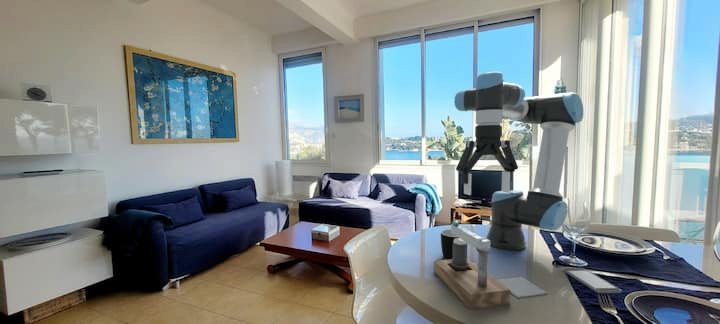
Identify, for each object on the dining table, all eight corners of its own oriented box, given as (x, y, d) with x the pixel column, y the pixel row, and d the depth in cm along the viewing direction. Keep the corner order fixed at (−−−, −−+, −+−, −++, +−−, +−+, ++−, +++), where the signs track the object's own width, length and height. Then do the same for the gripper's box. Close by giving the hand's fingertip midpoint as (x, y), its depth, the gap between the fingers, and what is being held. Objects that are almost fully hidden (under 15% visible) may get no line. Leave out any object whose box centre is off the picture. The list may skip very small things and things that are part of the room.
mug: (469, 263, 105) (469, 236, 104) (445, 264, 105) (445, 237, 104) (456, 251, 117) (457, 226, 116) (435, 251, 117) (435, 227, 116)
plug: (462, 274, 97) (463, 237, 96) (471, 281, 92) (472, 242, 91) (447, 275, 96) (448, 238, 95) (456, 283, 91) (456, 244, 90)
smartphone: (583, 268, 100) (622, 290, 85) (583, 271, 100) (622, 294, 85) (562, 268, 100) (598, 290, 85) (561, 271, 100) (597, 294, 85)
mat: (521, 278, 94) (521, 276, 94) (547, 294, 84) (547, 292, 84) (494, 281, 92) (494, 280, 92) (517, 298, 82) (517, 296, 82)
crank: (493, 252, 80) (493, 237, 80) (481, 253, 79) (481, 238, 79) (458, 232, 97) (459, 220, 97) (448, 233, 97) (449, 220, 96)
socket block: (465, 268, 101) (466, 230, 100) (510, 303, 80) (511, 255, 79) (434, 272, 99) (434, 233, 98) (470, 308, 77) (472, 259, 76)
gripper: (514, 125, 95) (512, 189, 97) (445, 125, 89) (444, 192, 91) (532, 124, 88) (529, 193, 89) (458, 124, 82) (457, 197, 84)
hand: (486, 193), depth 90 cm, fingers open, 13 cm apart
